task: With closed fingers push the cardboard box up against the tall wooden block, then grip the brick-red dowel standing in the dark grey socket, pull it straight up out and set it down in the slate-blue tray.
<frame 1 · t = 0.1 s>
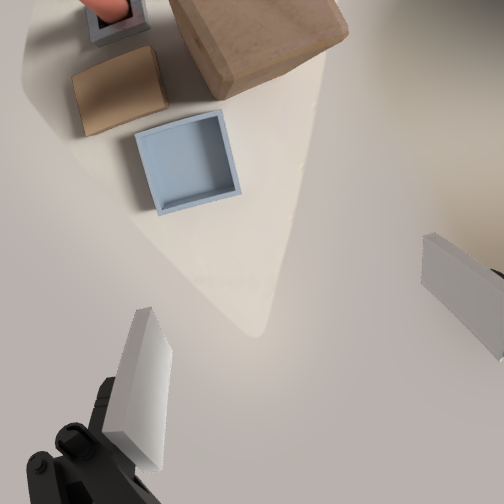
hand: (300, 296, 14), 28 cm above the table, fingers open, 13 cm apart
tray: (190, 159, 37), on the table
socket: (120, 16, 28), on the table
wooden block: (235, 54, 33), on the table
cardboard box: (124, 92, 33), on the table
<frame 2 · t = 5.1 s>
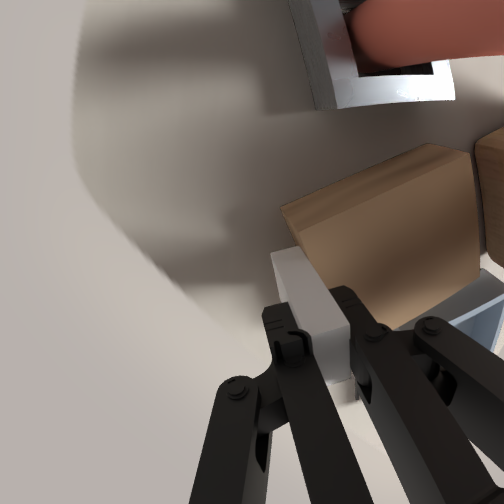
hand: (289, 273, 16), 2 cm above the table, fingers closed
dowel: (442, 13, 7), in the socket
tray: (432, 337, 22), on the table
socket: (361, 42, 13), on the table
cardboard box: (377, 231, 18), on the table, touching gripper
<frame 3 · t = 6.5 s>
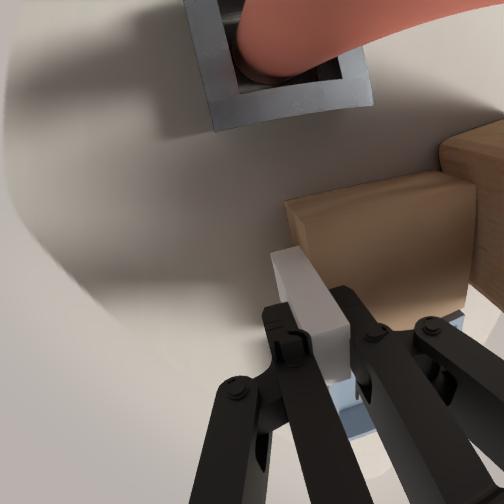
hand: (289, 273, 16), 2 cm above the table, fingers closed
dowel: (310, 4, 7), in the socket
tray: (377, 359, 22), on the table
socket: (269, 51, 13), on the table
wooden block: (485, 188, 18), on the table
cardboard box: (372, 245, 18), on the table
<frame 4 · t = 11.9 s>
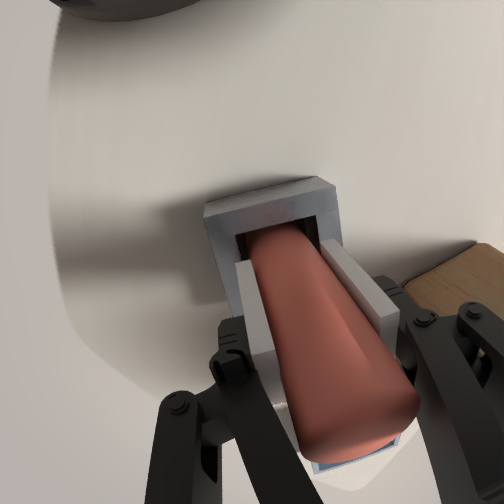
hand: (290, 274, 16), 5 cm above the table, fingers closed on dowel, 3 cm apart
dowel: (302, 300, 13), in the socket, touching gripper
tray: (348, 416, 29), on the table
socket: (273, 241, 20), on the table
wooden block: (444, 301, 25), on the table
when the fingers open (7 cm above the table, at t = 18.6 s): dowel drops 1 cm, resting on tray.
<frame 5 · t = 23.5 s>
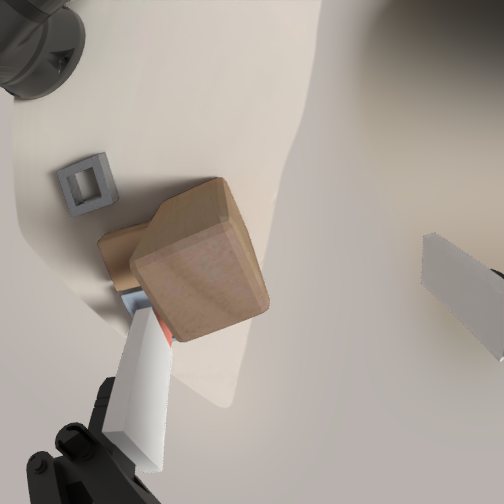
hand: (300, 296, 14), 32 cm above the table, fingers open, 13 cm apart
dowel: (160, 331, 42), in the tray, point 8 cm above the table
tray: (165, 303, 49), on the table
socket: (91, 182, 40), on the table
wooden block: (204, 218, 45), on the table
cardboard box: (142, 249, 45), on the table
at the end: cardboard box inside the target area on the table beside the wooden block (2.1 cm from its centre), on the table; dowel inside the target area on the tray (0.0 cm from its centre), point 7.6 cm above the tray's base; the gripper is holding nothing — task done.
